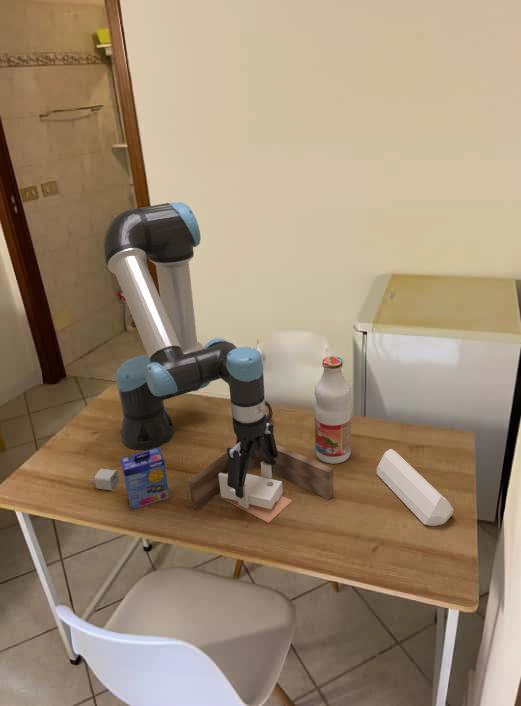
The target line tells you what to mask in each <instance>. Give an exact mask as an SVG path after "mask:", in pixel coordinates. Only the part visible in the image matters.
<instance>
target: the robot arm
mask: <svg viewBox="0 0 521 706" xmlns="http://www.w3.org/2000/svg"><path fill="white" fill-rule="evenodd" d="M200 243H201V230H200V226H199V223H198V220H197V218H196V216H195V214H194V212H193V210H192V208H190V206H189V205H187V203H184V202H178V201H177V202H166V203H160V204H155V205H149V206H144V207H138V208H129V209H126V210H124V211H121V212H120V213H119V214H117V215H116V216H115V217H114V218H113V219H112V220H111V222H110V224H109V225H108V227H107V229H106V231H105V234H104V237H103V246H102V247H103V250H102V251H103V257H104V262H105V264H106V266H107V269H108V270H109V272H111V273H112V274H114V275H115V276H116V279H117V282H118V284H119V287H120V289H121V292H122V294H123V297H124V299H125V303H126V304H127V306H128V309H129V312H130V315H131V317H132V319H133V323H134V325H135V327H136V329H137V332H138V334H139V337H140V339H141V342H142V344H143V347H144V350H145V352H146V355H145V356H144V355H137V356H135V357H133V358H130V359H128V360H126V361H124V362H123V363H121V365H120V366H119V367H118V369H117V370H116V375H115V376H116V377H115V378H116V388H117V390H118V395H119V400H120V404H121V409H122V415H123V418H122V425H121V426H122V427H121V430H120V437H121V440H122V443H123V445H125V447H127V448H129V449H131V450H138V451H139V450H151V449H154V448H159V447H160V446H162V445H165V444H166V443H167V442H169V441H170V440H171V439H172V437H173V436H174V434H175V426H174V422H173V420H172V419H171V417H170V415H169V414H168V411H167V410H166V408H165V404H164V401H165V400H169V399H172V398H175V397H178V396H181V395H184V394H188V393H191V392H197V391H198V390H200V389H203V388H207V386H208V385H210V383H211V382H214V381H216V380H217V381H218V380H219V379H221V380H222V381H223V382H225V383H227V384H228V387H229V395H230V397H229V398H230V407H231V415H232V417H231V418H232V427H233V432H234V434H235V436H236V440H235V441H236V442H235V445H234V446H233V447H228V448H227V449H226V453H227V454H228V481H227V485H228V486H229V487H231V488H233V489H235V493H236V496H237V497H238V504H239V505H240V506H242V507H244V508H246V509H247V508H248V507H249V502H248V491H247V485H246V484H244V483H245V479H246V474H248V471H247V469H248V465H249V460H250V459H252V455H253V452H254V451H255V450H257V451H258V452H259V454H260V456H261V458H262V459H263V461H264V462H263V461H262V462H261V467H260V470H261V471H260V472H261V477H264V478H269V479H273V473H272V472H273V468H272V465H275V464H276V461H275V460H273V459H274V458H277V457H278V452H277V447H276V445H277V444H276V439H275V435H274V427H275V426H274V425H273V424H271V423H270V422H269V423H266V416H267V415H266V405H265V401H266V400H265V383H264V381H265V380H264V363H263V360H262V358H263V357H262V354H261V352H260V350H258V349H257V348H254V347H253V348H252V347H249V346H241V347H237V346H236V345H235V344H234V343H233V342H230V341H228V340H226V339H225V338H220V337H218V338H213V339H210V340H209V342H207V343H206V344H205V345H203V344H202V343H201V342H199V341H198V337H197V329H196V319H195V310H194V301H193V291H192V282H191V281H192V279H191V271H190V263H189V262H190V261H191V260H192V259H193V258H194V256H195V255H194V248H196V247H197V246H199V245H200ZM147 260H149V261H150V262H151V264H152V263H153V264H154V265H155V269H156V274H157V275H156V276H157V277H156V278H157V284H158V290H157V287H156V284H155V282H154V280H153V277H152V275H151V273H150V271H149V268H148V265H147V263H146V262H147ZM158 291H159V292H158ZM203 346H204V347H203ZM243 452H245V453H247V454H248V455H247V454H245V453H243Z"/></svg>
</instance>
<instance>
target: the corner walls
mask: <svg viewBox="0 0 521 706" xmlns="http://www.w3.org/2000/svg"><path fill="white" fill-rule="evenodd" d="M276 447H277V452H278V457H277V458H274V459H273V460H275V461H276V464H275V465H272V468H273V472H272V475H273V474H274V475H276V476H278V477H280V478H282V479H284V480H286V481H288V482H290V483H293V484H294V485H296V486H299V487H300V488H304V489H306V490H308V491H310V492H312V493H314V494H316V495H319V496H320V497H322V498H325V499H327V500H330V499H332V498H333V497H334V468H332V467H330V466H328V465H325V464H323V463H320V462H319V461H317V460H314V459H311V458H308V457H307V456H305V455H302V454H299V452H298V453H297V452H295V451H292V450H290V449H288V448H286V447H283V446H281V445H278V444H276ZM243 453H245V452H243ZM245 454H247V453H245ZM247 455H248V454H247ZM262 461H263V459H262V458H261V456H260V454H259V452H258V451H257V450H255V451H254V452H253V455H252V459H250V460H249V465H248V469H247V472H249V470H251V469H252V468H254V467H255V466H256V467H258V468H261V462H262ZM263 462H264V461H263ZM219 473H224V474H227V473H228V454H227V452H225V453H224V454H223V455H221V456H220V457H218V458H217V459H216V460H215V461H212V463H210V464H209V465H208V466H206V467H205V468H203V469H202V470H201V471H199V472H198V473H196V474H195V475H194V476H192V477H191V478H190V479H188V489H189V494H190V500H191V507H192V508H193V509H195V510H196V511H198V510H199V509H201V508H202V507H204V506H205V505H206V504H207V503H209V501H211V500H212V499H214V498H215V497H216V496H217V495H219V494H221V491H220V484H219V477H218V475H219Z"/></svg>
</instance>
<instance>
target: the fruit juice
mask: <svg viewBox="0 0 521 706" xmlns="http://www.w3.org/2000/svg"><path fill="white" fill-rule="evenodd" d="M343 364H344V363H343V359H342V358H341V357H339V356H332V355H331V356H327V357H325V358H323V359H322V368H323V372H322V375H321V377H320V379H319V380H318V381H317V383H316V385H315V387H314V397H315V398H314V399H316V402H315V405H314V414H313V415H314V444H315V445H314V451H315V455H316V457H317V458H318V459H319V460H320V461H321V462H324V463H326V464H332V465H333V464H334V465H335V464H340V463H344V462H346V461H347V460H348V459H349V458H350V456H351V453H352V406H351V403H350V399H351V396H352V395H351V394H352V390H351V385H350V384H349V383H348V381H347V380H345V377H344V376H343V371H342V368H343Z"/></svg>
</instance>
